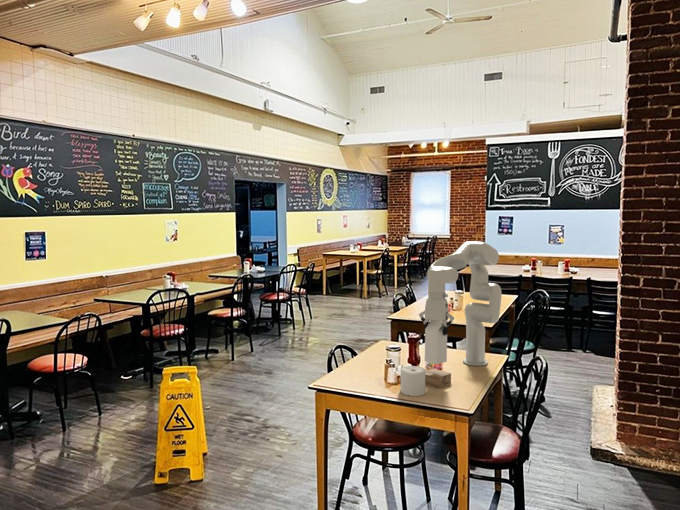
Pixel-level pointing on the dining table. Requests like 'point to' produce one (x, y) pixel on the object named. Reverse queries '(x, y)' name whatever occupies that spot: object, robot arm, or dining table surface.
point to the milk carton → (435, 343)
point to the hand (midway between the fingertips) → (436, 333)
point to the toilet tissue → (412, 380)
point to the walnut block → (437, 378)
